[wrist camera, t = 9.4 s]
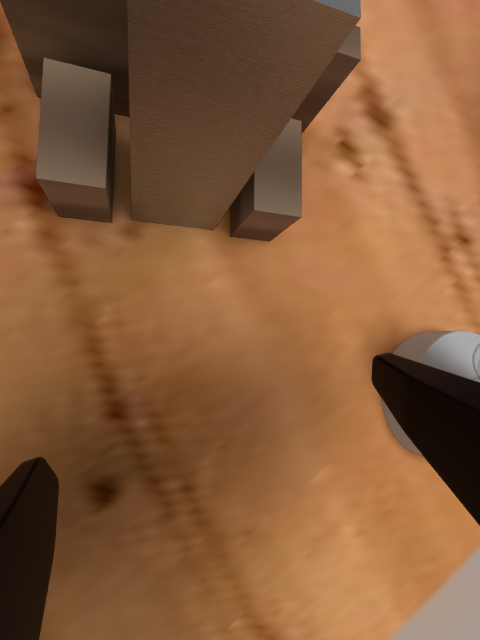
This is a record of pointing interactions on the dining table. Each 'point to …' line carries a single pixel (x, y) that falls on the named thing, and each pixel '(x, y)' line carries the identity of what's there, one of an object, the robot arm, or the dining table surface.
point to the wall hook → (438, 363)
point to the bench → (113, 97)
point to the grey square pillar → (218, 94)
